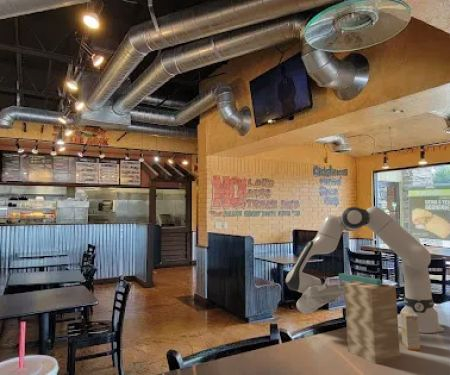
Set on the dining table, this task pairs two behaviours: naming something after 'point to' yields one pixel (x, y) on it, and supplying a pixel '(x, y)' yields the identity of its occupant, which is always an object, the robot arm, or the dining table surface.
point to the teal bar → (359, 279)
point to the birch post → (372, 321)
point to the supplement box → (410, 330)
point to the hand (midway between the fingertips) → (335, 284)
